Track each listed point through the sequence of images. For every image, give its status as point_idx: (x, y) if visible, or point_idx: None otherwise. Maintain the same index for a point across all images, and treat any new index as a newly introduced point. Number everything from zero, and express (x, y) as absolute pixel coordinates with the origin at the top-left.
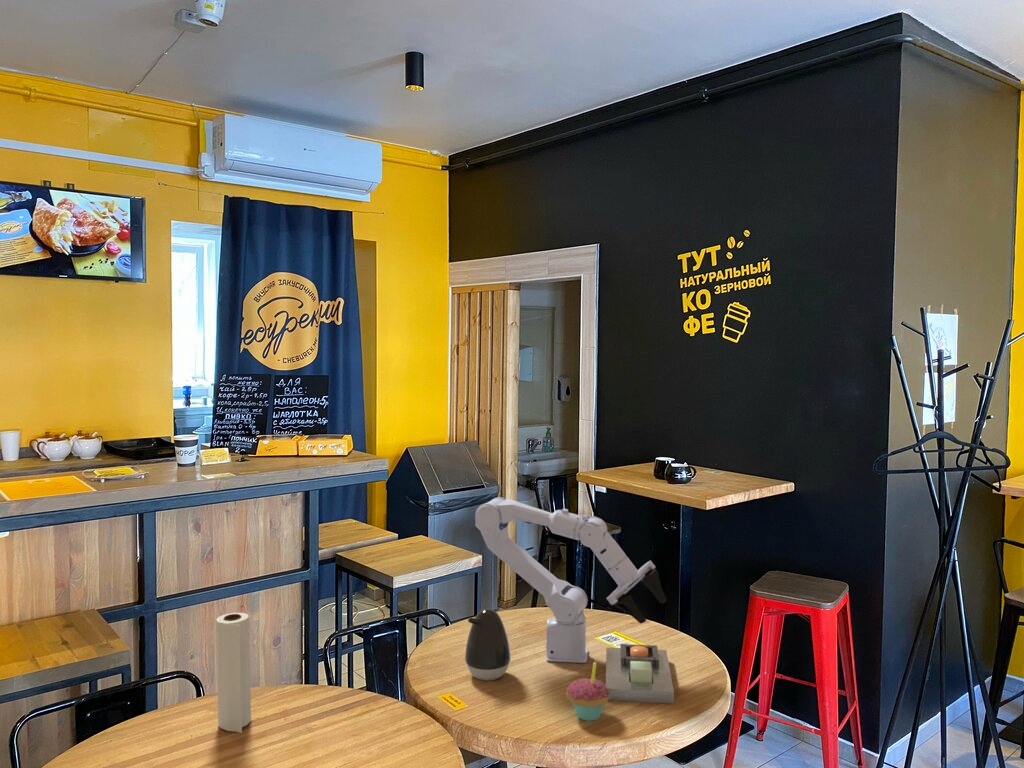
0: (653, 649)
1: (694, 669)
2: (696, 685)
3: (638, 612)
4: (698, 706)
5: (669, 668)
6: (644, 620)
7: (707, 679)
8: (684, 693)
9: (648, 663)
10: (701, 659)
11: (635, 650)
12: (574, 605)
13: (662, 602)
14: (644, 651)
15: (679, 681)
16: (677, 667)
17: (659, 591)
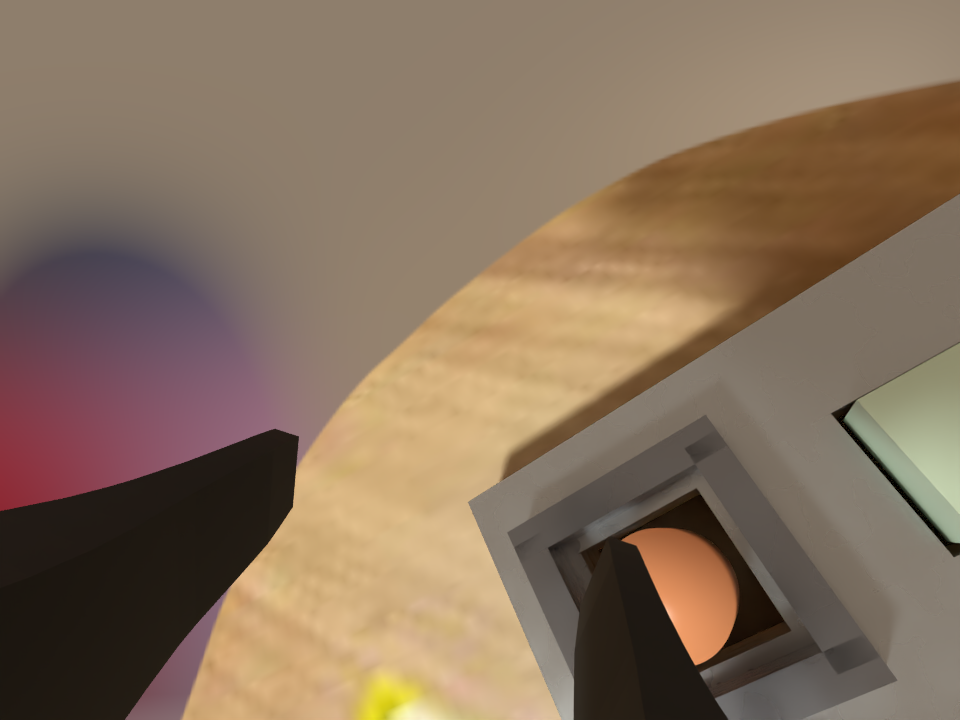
0: (572, 523)
1: (510, 355)
2: (660, 261)
3: (658, 629)
4: (882, 125)
5: (678, 371)
6: (629, 549)
7: (571, 263)
8: (789, 248)
9: (903, 397)
10: (408, 383)
11: (703, 612)
12: None
13: (290, 485)
14: (675, 543)
15: (673, 338)
16: (533, 424)
17: (209, 488)
